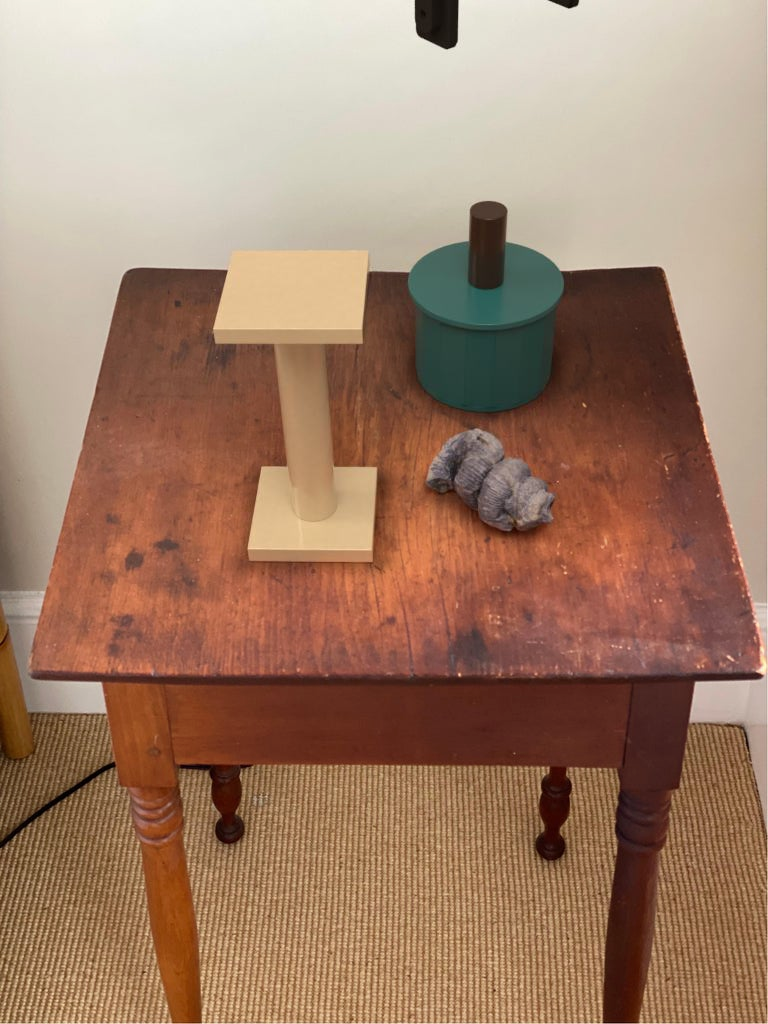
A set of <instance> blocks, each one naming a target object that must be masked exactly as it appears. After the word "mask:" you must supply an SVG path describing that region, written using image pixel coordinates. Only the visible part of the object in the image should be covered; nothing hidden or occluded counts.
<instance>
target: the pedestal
mask: <svg viewBox="0 0 768 1024" xmlns="http://www.w3.org/2000/svg"><path fill="white" fill-rule="evenodd" d="M370 267H371V263H370V249H362V250H361V249H347V250H345V249H341V250H340V249H337V250H336V249H335V250H333V249H331V250H330V249H323V250H322V249H321V250H320V249H317V250H316V249H314V250H313V249H308V250H307V249H305V250H304V249H303V250H302V249H301V250H298V249H297V250H296V249H295V250H294V249H293V250H292V249H290V250H287V249H286V250H285V249H284V250H283V249H282V250H281V249H280V250H278V249H277V250H272V249H271V250H265V249H264V250H262V249H261V250H232V252H231V257H230V260H229V264H228V269H227V273H226V277H225V281H224V284H223V288H222V292H221V297H220V299H219V304H218V308H217V312H216V316H215V320H214V323H213V328H212V331H213V337H214V338H213V339H214V344H216V345H273V352H274V360H275V370H276V378H277V379H276V380H277V387H278V388H277V389H278V395H279V404H280V412H281V413H280V414H281V422H282V432H283V441H284V448H285V449H284V450H285V458H286V466H284V465H282V466H278V465H275V466H274V465H272V466H271V465H269V466H268V465H264V466H261V467H260V473H259V479H258V484H257V490H256V495H255V496H256V497H255V502H254V508H253V512H252V519H251V524H250V531H249V535H248V542H247V556H248V561H249V562H274V563H275V562H277V563H278V562H281V563H282V562H283V563H286V562H287V563H291V562H294V563H373V561H374V553H375V552H374V550H375V534H376V516H377V503H378V502H377V501H378V500H377V499H378V483H379V473H378V472H379V471H378V467H377V466H335V456H334V454H335V453H334V443H333V428H332V427H333V426H332V415H331V414H332V413H331V400H330V387H329V373H328V359H327V346H326V345H362V344H364V338H365V337H364V336H365V335H364V334H365V325H366V323H365V322H366V313H367V302H368V291H369V290H368V289H369V278H370Z"/></svg>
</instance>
